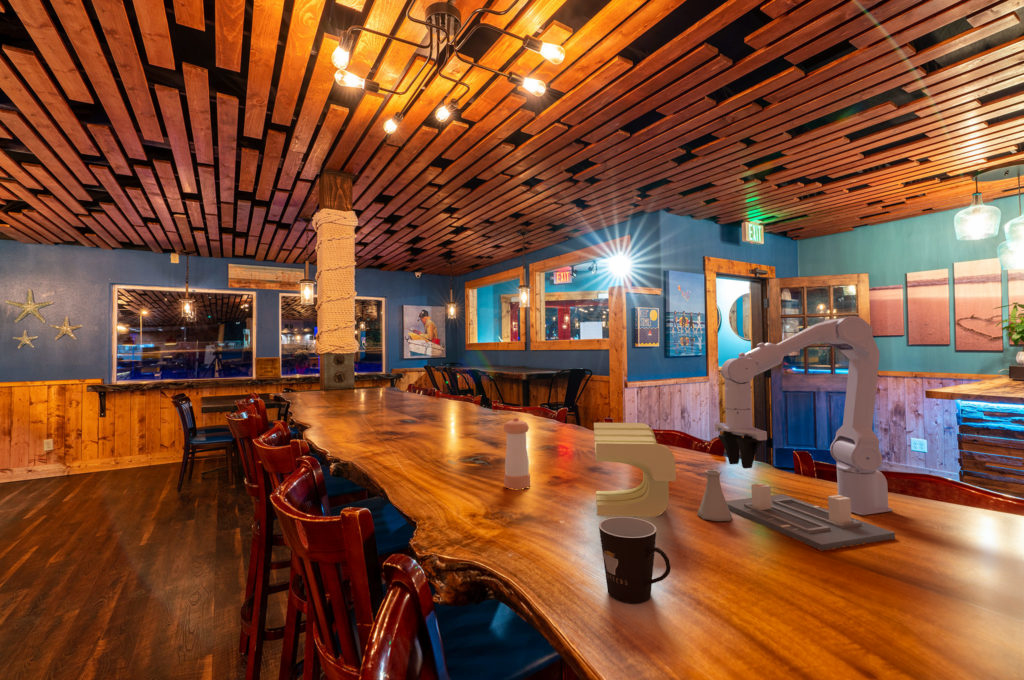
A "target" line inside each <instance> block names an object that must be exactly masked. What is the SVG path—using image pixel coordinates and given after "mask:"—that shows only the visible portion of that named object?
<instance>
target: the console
mask: <svg viewBox="0 0 1024 680" xmlns="http://www.w3.org/2000/svg"><path fill="white" fill-rule="evenodd" d="M726 503H727V505H728V508H729V510H730V512H732V513H735V514H737V515H739V516H741V517H744V518H746V519H748V520H751V521H753V522H755V523H757V524H760V525H761V526H764V527H766V528H769V529H771V530H773V531H775V532H777V531H778V533H780V534H782V535H784V534H785V535H784V536H787V537H789V536H790V537H789V538H791V537H792V539H793V538H795V539H794V540H796V539H797V540H796V541H798V540H799V541H798V542H800V541H802V542H804V543H803V544H805V543H806V544H805V545H807V544H808V545H807V546H809V545H810V546H809V547H811V546H813V547H812V548H814V549H816V548H817V550H818V549H820V550H819V551H821V550H822V551H821V552H824V551H823V550H826V551H828V550H827V549H832V550H834V549H833V548H838V549H840V548H839V547H843V546H850V545H856V546H858V545H857V544H862V545H864V544H863V543H868V544H871V543H870V542H874V543H877V542H876V541H879V542H883V541H882V540H885V541H890V540H889V539H891V540H895V539H896V533H895V531H891V530H888V529H885V528H882V527H880V526H877V525H874V524H871V523H868V522H865V521H863V520H859V519H856V518H853V517H851V522H849V523H842V524H838V523H835V522H832V521H829V510H828V509H826V508H824V507H821V506H818V505H816V504H812V503H809V502H806V501H804V500H801V499H797V498H794V497H791V496H790V495H786V494H782V493H781V494H773V495H772V494H771V509H766V510H760V509H757V508H755V507H752V497H746V498H739V499H731V500H726ZM802 542H801V543H802ZM850 547H851V546H850Z"/></svg>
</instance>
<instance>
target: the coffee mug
mask: <svg viewBox="0 0 1024 680" xmlns="http://www.w3.org/2000/svg"><path fill="white" fill-rule="evenodd" d="M598 529H599V536H600V537H599V538H600V543H601V551H602V558H603V559H602V560H603V565H604V573H605V582H606V588H607V594H608V595H609V597H611V598H612V600H615V601H617V602H620V603H623V604H627V605H639V604H644V603H646V602H648V601H649V600H650V599H651V595H652V585H653V584H656V583H658V582H661V581H663V580H665V579H666V578H667V577H668V576H669V574H670V573H671V570H672V569H671V568H672V567H671V563H670V559H669V557H668V555H667V554H666V552H665V551H663V550H662V549H661V548H659V547H656V541H657V540H656V538H657V527H656V525H654V524H653V523H652V522H650V521H648V520H645V519H642V518H638V517H633V516H613V517H609V518H605V519H603V520H601V521H600V522H599V523H598ZM655 553H658V554H659V555H660V557H662V558H663V560H664V562H665V563H664V564H665V571H664V572H663V574H662V575H660V576H658V577H655V578H653V574H654V573H653V572H654V563H655V562H654V561H655Z"/></svg>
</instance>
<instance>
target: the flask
mask: <svg viewBox="0 0 1024 680" xmlns="http://www.w3.org/2000/svg"><path fill="white" fill-rule="evenodd" d="M704 473H705V475H706V486H705V491H704V493H703V496H702V500H701V502H700V506H699V507H698V511H697V516H699V517H700V518H702V519H703V520H707V521H713V522H728V521H729V522H730V521H732V518H733V517H732V513H731V511H730V510H729V508H728V505H727V503H726V501H727V500H726V498H725V496H724V493H723V490H722V486H721V480H720V476H721V471H720V470H716V469H715V470H714V469H706V470H705V472H704Z"/></svg>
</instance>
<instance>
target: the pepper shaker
mask: <svg viewBox="0 0 1024 680" xmlns="http://www.w3.org/2000/svg"><path fill="white" fill-rule="evenodd" d="M529 429H530V427H529V424H528V422H526V421H524V420H521V419H519V417H514V418H513V419H512V420H509V421H506V422H505V424H504V426H503V430H504V432H505V433H506V450H505V460H504V469H505V470H504V471H505V473H504V474H503V484H504V485H505V486H506V487H508V488H513V489H522V488H527V487H529V486H530V487H531V473H530V472H529V469H530V468H529V465H530V464H529V463H530V462H529V456H528V455H529V454H528V451H527V433H528V431H529ZM504 485H503V486H504Z"/></svg>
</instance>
